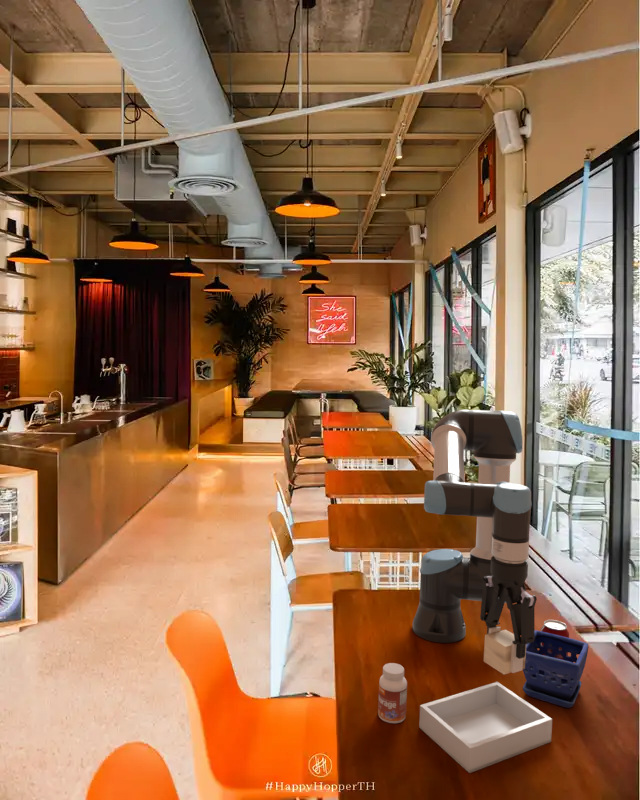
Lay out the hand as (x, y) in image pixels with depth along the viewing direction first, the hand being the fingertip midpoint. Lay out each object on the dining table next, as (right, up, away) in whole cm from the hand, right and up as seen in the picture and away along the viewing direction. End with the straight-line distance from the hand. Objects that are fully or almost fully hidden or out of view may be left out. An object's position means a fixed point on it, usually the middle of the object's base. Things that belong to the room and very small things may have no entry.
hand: (504, 663), depth 131 cm
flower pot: (+16, -14, +15) cm, 26 cm away
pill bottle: (-24, -14, +5) cm, 28 cm away
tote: (-5, -15, -1) cm, 15 cm away
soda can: (+20, -13, +27) cm, 36 cm away
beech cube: (0, 0, 0) cm, 0 cm away
